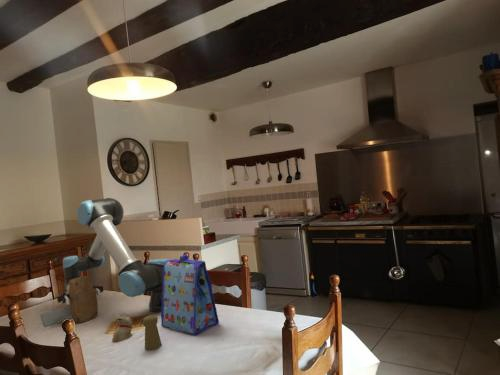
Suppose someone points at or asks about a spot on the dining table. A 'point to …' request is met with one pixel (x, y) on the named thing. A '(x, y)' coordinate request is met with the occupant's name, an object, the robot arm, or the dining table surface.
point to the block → (82, 299)
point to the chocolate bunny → (122, 328)
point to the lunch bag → (187, 296)
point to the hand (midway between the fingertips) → (84, 297)
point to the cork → (151, 333)
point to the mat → (56, 316)
